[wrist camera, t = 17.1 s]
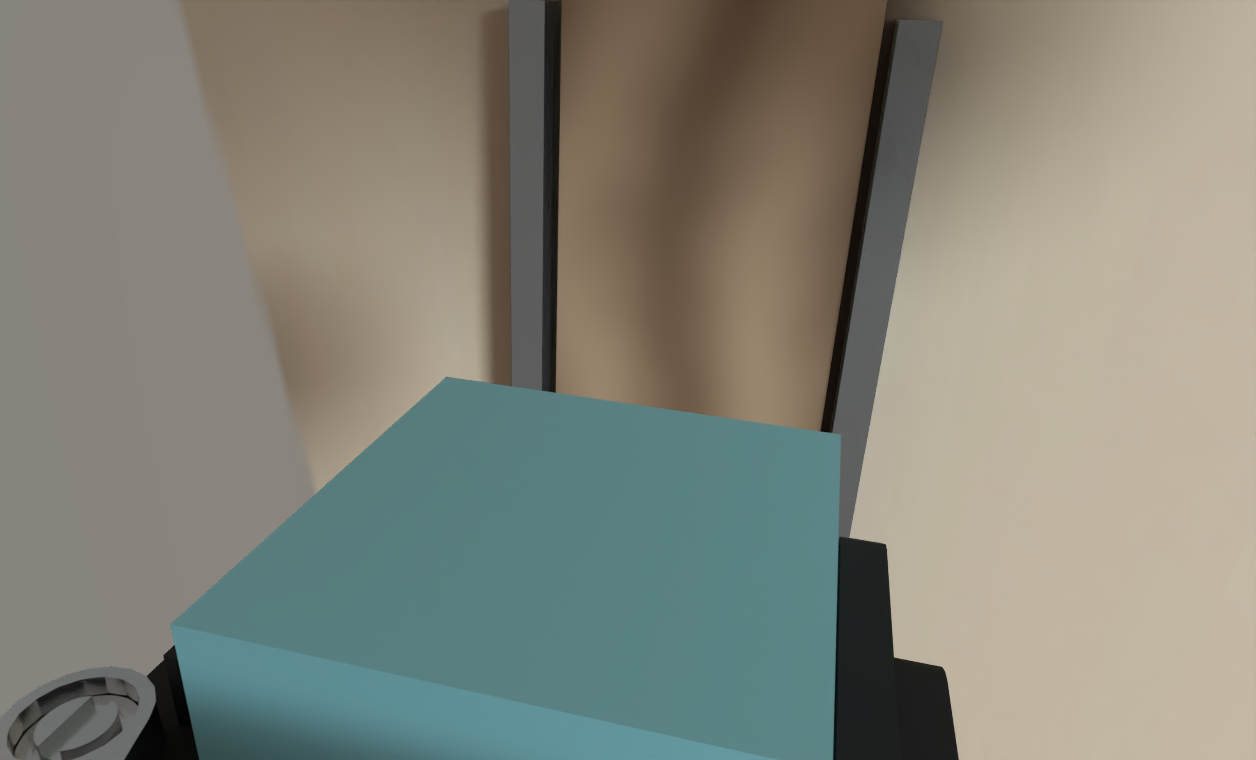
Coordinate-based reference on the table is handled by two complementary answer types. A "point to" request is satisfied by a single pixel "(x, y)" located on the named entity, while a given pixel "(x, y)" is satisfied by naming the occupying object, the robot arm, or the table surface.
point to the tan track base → (709, 199)
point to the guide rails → (879, 245)
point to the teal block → (535, 593)
